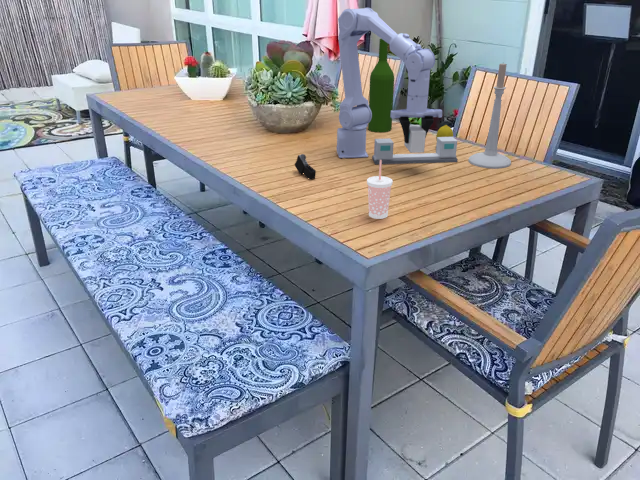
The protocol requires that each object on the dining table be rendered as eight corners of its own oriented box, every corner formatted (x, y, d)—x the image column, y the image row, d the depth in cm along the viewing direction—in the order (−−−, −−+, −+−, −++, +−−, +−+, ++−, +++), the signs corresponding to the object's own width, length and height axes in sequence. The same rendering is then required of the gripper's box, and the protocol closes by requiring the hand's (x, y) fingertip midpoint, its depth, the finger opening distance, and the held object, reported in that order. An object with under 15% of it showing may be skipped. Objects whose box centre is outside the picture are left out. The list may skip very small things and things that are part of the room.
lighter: (313, 185, 157) (319, 172, 152) (307, 186, 156) (313, 174, 151) (300, 163, 160) (305, 150, 156) (294, 164, 159) (299, 151, 155)
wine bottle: (396, 130, 203) (401, 39, 188) (378, 133, 198) (382, 40, 184) (381, 125, 209) (385, 37, 195) (363, 128, 205) (366, 38, 191)
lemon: (452, 151, 178) (454, 127, 174) (435, 150, 179) (437, 126, 175) (451, 146, 183) (454, 123, 179) (435, 145, 184) (437, 122, 180)
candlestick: (478, 169, 161) (492, 66, 147) (462, 157, 172) (473, 59, 159) (518, 167, 162) (535, 64, 149) (499, 155, 174) (513, 58, 161)
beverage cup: (368, 209, 134) (370, 155, 128) (392, 211, 132) (395, 157, 126) (363, 218, 129) (365, 162, 122) (388, 221, 127) (391, 165, 121)
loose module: (409, 152, 153) (411, 132, 151) (403, 144, 161) (405, 125, 158) (424, 152, 154) (425, 131, 151) (417, 144, 161) (418, 124, 158)
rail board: (375, 164, 166) (376, 143, 163) (372, 158, 171) (372, 138, 168) (457, 161, 167) (459, 141, 165) (451, 156, 173) (453, 136, 170)
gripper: (395, 98, 146) (392, 146, 152) (447, 97, 147) (442, 145, 153) (390, 93, 152) (387, 139, 158) (440, 92, 153) (435, 138, 159)
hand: (414, 142), depth 156 cm, fingers closed on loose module, 4 cm apart
